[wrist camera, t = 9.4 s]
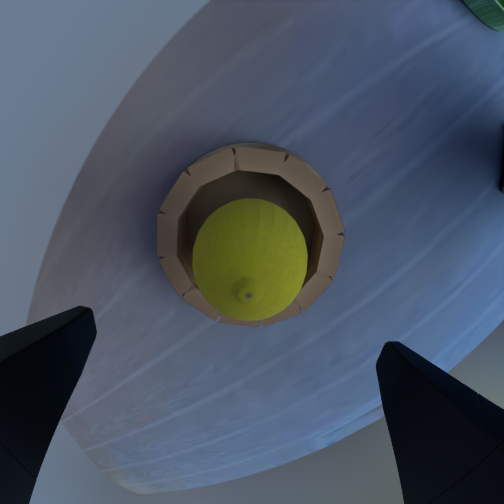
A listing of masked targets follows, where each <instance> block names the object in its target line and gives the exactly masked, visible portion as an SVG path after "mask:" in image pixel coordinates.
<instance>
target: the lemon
mask: <svg viewBox="0 0 504 504" xmlns="http://www.w3.org/2000/svg"><path fill="white" fill-rule="evenodd" d="M307 258H308V254H307V248H306V243H305V239H304V236H303V234H302V232H301V230H300V228H299V226H298V224H297V223H296V221H295V220H294V219H293V218H292V217H291V216H290V215H289V214H288V213H287V212H286V211H285V210H284V209H282V208H280V207H279V206H277V205H276V204H274V203H272V202H268V201H265V200H262V199H251V198H245V199H240V200H235V201H231V202H229V203H227V204H225V205H223V206H221V207H219V208H218V209H217V210H216V211H215V212H214V213H212V214H211V215H210V216H209V217H208V218H207V219H206V221H205V222H204V224H203V225H202V227H201V228H200V230H199V232H198V234H197V237H196V241H195V244H194V247H193V263H192V266H193V272H194V276H195V280H196V284H197V286H198V288H199V290H200V292H201V294H202V295H203V297H204V298H205V300H206V301H207V302H208V303H209V304H210V305H211V306H212V307H213V308H215V309H216V310H218V311H219V312H221V313H222V314H224V315H226V316H228V317H231V318H233V319H238V320H244V321H255V320H262V319H265V318H269V317H271V316H273V315H275V314H277V313H279V312H281V311H283V310H284V309H285V308H286V307H287V306H288V305H289V304H291V303H292V301H293V300H294V299H295V297H296V296H297V294H298V293H299V291H300V290H301V287H302V285H303V282H304V279H305V276H306V272H307Z"/></svg>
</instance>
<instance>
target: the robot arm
mask: <svg viewBox="0 0 504 504" xmlns="http://www.w3.org/2000/svg"><path fill="white" fill-rule="evenodd" d="M500 191H501V192H503V193H504V157H503V166H502V174H501V181H500ZM96 334H97V330H96V325H95V320H94V314H93V311H92V309H91V308H89V307H84V306H78V307H75V308H72V309H70V310H67V311H64V312H62V313H59V314H57V315H54V316H51V317H49V318H46V319H44V320H41V321H38V322H36V323H33V324H31V325H28V326H26V327H23V328H20V329H18V330H15V331H13V332H10V333H8V334H5V335H3V336H0V504H29V502H30V499H31V495H32V492H33V489H34V486H35V483H36V478H37V476H38V473H39V471H40V468H41V465H42V463H43V460H44V457H45V455H46V452H47V450H48V447H49V444H50V442H51V440H52V437H53V435H54V432H55V430H56V428H57V425H58V423H59V421H60V419H61V416H62V414H63V412H64V410H65V407H66V405H67V403H68V401H69V399H70V397H71V395H72V393H73V391H74V388H75V386H76V384H77V382H78V380H79V378H80V376H81V374H82V371H83V369H84V366H85V364H86V361H87V358H88V356H89V353H90V351H91V348H92V346H93V343H94V341H95V338H96ZM376 371H377V377H378V382H379V388H380V394H381V400H382V406H383V410H384V414H385V418H386V422H387V426H388V430H389V433H390V437H391V442H392V446H393V450H394V455H395V459H396V463H397V468H398V473H399V478H400V483H401V488H402V494H403V499H404V504H504V409H502V408H501V407H499V406H497V405H496V404H494V403H492V402H491V401H489V400H488V399H486V398H485V397H483V396H482V395H480V394H477V392H475V391H474V390H472V389H471V388H469V387H468V386H466V385H465V384H463V383H461V382H460V381H459V380H457V379H455V378H454V377H452V376H451V375H449V374H448V373H446V372H445V371H443V370H442V369H440V368H439V367H437V366H436V365H434V364H432V363H431V362H429V361H428V360H426V359H425V358H423V357H422V356H420V355H419V354H417V353H416V352H414V351H412V350H411V349H409V348H408V347H406V346H405V345H403V344H402V343H400V342H398V341H388V342H386V343H385V345H384V347H383V349H382V351H381V353H380V355H379V358H378V360H377V363H376Z"/></svg>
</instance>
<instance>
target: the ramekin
mask: <svg viewBox="0 0 504 504" xmlns="http://www.w3.org/2000/svg"><path fill="white" fill-rule="evenodd" d="M463 1H464V2H465V4H466V5H467V6H468V7H469V9H470V10H471V11H472V12H473V13H474V14H475V15H476V16H477V17H478V18H479V19H480V20H481V21H482V22H484V23H485V24H486V25H487V26H489V27H491V28H492V29H494V30H497V31H501V32H503V31H504V0H463Z"/></svg>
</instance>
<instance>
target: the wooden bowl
mask: <svg viewBox="0 0 504 504" xmlns="http://www.w3.org/2000/svg"><path fill="white" fill-rule="evenodd" d="M245 198H251V199H262V200H265V201H268V202H272V203H274V204H276V205H277V206H279V207H280V208H282V209H284V210H285V211H286V212H287V213H288V214H289V215H290V216H291V217H292V218H293V219H294V220H295V221H296V223H297V224H298V226H299V228H300V230H301V232H302V234H303V236H304V239H305V243H306V248H307V254H308V258H307V272H306V276H305V279H304V282H303V285H302V287H301V290H300V291H299V293H298V294H297V296H296V297H295V299H294V300H293V301H292V303H291V304H289V305H288V306H287V307H286V308H285V309H284V310H283V311H281V312H279V313H277V314H275V315H273V316H271V317H269V318H265V319H262V320H261V322H262V324H263V326H266V325H269V324H272V323H275V322H278V321H281V320H284V319H286V318H289V317H292V316H295V315H297V314H300V313H302V312H301V308H303V309H304V310H306V309H307V308H308V307H309V306H310V305H311V304H312V303H313V302H314V301H315V300H316V299H317V298H318V297H319V296H320V295H321V294H322V293H323V291H324V290H325V289H326V288H327V287H328V286H329V285H330V284H331V283H332V282H333V279H332V278H331V276H332V277H335V276H336V272H337V268H338V264H339V260H340V256H341V252H342V247H343V243H344V238H345V236H344V234H343V233H342V232H344V231H345V230H344V227H343V224H342V221H341V218H340V215H339V212H338V209H337V206H336V203H335V200H334V197H333V195H332V192H331V189H330V188H328V187H327V184H326V183H325V182H324V181H323V179H322V178H321V177H320V175H319V174H318V173H317V172H316V170H315V169H313V168H312V167H311V166H310V165H309V164H308V163H307V162H306V161H304V160H303V159H301V158H300V157H299V156H297V155H295V154H293V153H291V152H289V151H287V150H285V149H283V148H280V147H277V146H274V145H269V144H264V143H252V142H247V143H236V144H231V145H227V146H223V147H221V148H218V149H215V150H213V151H211V152H209V153H207V154H205V155H204V156H202V157H200V158H199V159H198V160H196V161H195V162H194V163H192V164H191V165H190V166H189V167H188V168H187V169H186V170H185V171H183V172H182V174H181V175H180V177H179V178H178V180H177V181H176V183H175V184H174V186H173V187H172V189H171V191H170V192H169V194H168V195H167V197H166V198H165V200H164V202H163V203H162V205H161V206H160V208H159V209H160V210H161V212H159V213H158V215H157V256H161V257H160V259H159V260H158V261H159V263H160V265H161V266H162V268H163V270H164V272H165V274H166V275H167V277H168V279H169V281H170V282H171V284H172V286H173V288H174V289H175V291H176V293H177V294H178V296H179V295H182V294H183V297H182V300H184V301H185V302H187V303H188V304H190V305H191V306H193V307H194V308H196V309H197V310H199V311H201V312H202V313H204V314H205V315H207V316H208V317H210V318H212V319H213V320H216V319H217V318H218V317H219V316H220V321H219V322H221V323H229V324H238V325H247V326H256V327H259V326H260V320H255V321H244V320H238V319H233V318H231V317H228V316H226V315H224V314H222V313H221V312H219V311H218V310H216V309H215V308H213V307H212V306H211V305H210V304H209V303H208V302H207V301H206V300H205V298H204V297H203V295H202V294H201V292H200V290H199V288H198V286H197V284H196V280H195V276H194V272H193V266H192V263H193V247H194V244H195V241H196V237H197V234H198V232H199V230H200V228H201V227H202V225H203V224H204V222H205V221H206V219H207V218H208V217H209V216H210V215H211V214H212V213H214V212H215V211H216V210H217V209H218V208H219V207H221V206H223V205H225V204H227V203H229V202H231V201H235V200H240V199H245ZM300 307H301V308H300Z"/></svg>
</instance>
